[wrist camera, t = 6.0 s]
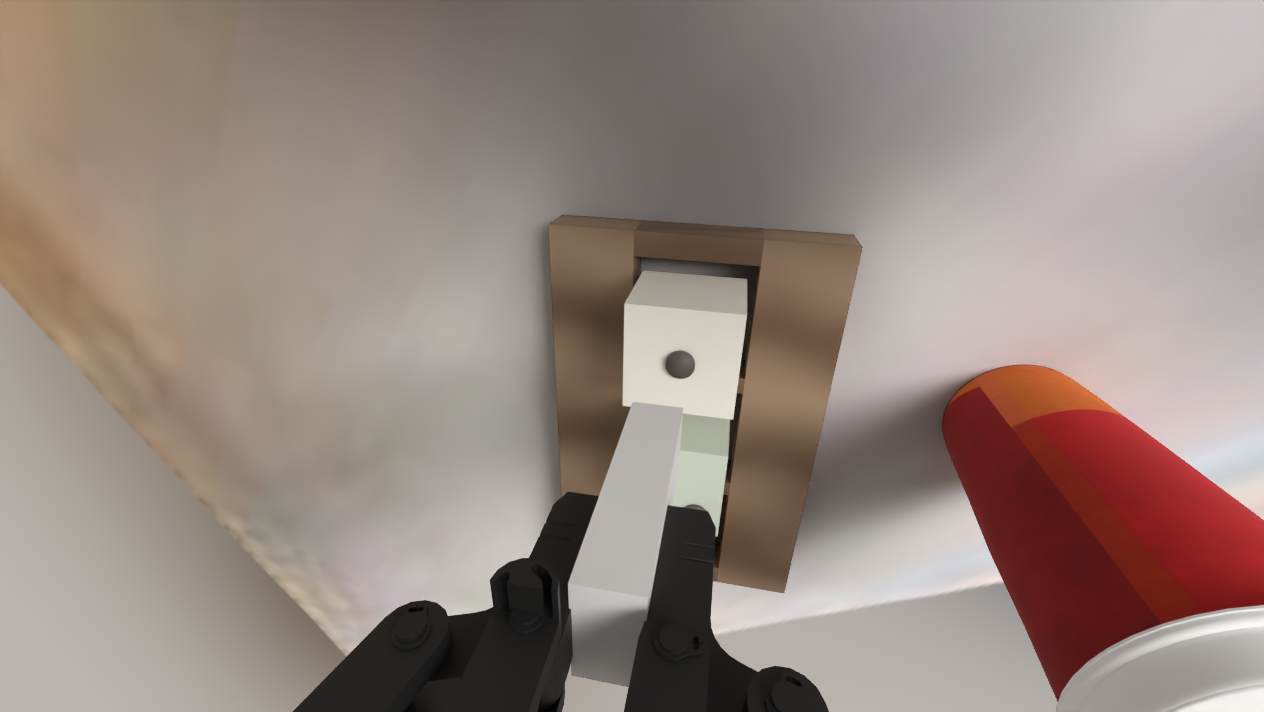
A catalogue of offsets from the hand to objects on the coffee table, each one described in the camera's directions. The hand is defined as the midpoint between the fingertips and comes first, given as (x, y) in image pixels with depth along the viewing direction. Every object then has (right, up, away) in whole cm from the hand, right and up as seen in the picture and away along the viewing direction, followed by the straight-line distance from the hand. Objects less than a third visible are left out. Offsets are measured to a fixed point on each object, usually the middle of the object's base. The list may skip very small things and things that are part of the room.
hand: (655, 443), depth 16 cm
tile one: (+2, +4, +8) cm, 9 cm away
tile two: (+2, -1, +10) cm, 11 cm away
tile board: (+2, 0, +12) cm, 13 cm away
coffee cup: (+17, 0, +9) cm, 20 cm away
